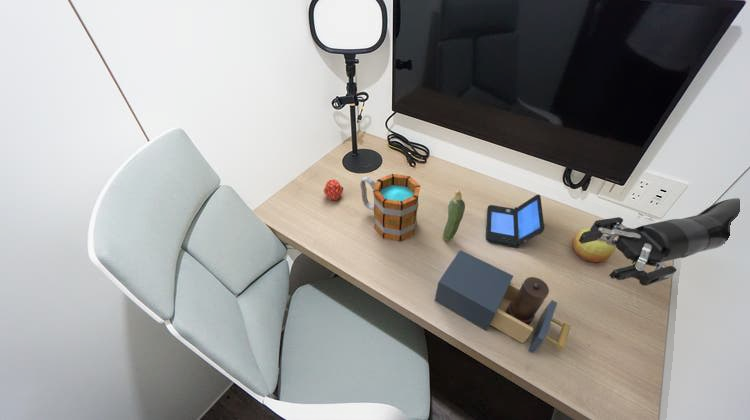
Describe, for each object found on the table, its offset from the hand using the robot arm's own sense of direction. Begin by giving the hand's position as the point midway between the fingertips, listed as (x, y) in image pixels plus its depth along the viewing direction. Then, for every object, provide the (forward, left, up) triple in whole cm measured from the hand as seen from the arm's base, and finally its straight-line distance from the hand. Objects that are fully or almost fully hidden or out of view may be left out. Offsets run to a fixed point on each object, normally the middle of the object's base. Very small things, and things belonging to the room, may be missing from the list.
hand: (596, 256), depth 60 cm
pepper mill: (+2, +10, -21) cm, 23 cm away
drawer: (+1, +9, -22) cm, 24 cm away
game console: (+26, -10, -23) cm, 36 cm away
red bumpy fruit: (+64, +33, -23) cm, 76 cm away
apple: (+9, -23, -23) cm, 34 cm away
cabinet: (+12, +15, -23) cm, 30 cm away
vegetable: (+30, +9, -23) cm, 39 cm away
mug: (+45, +22, -23) cm, 55 cm away
